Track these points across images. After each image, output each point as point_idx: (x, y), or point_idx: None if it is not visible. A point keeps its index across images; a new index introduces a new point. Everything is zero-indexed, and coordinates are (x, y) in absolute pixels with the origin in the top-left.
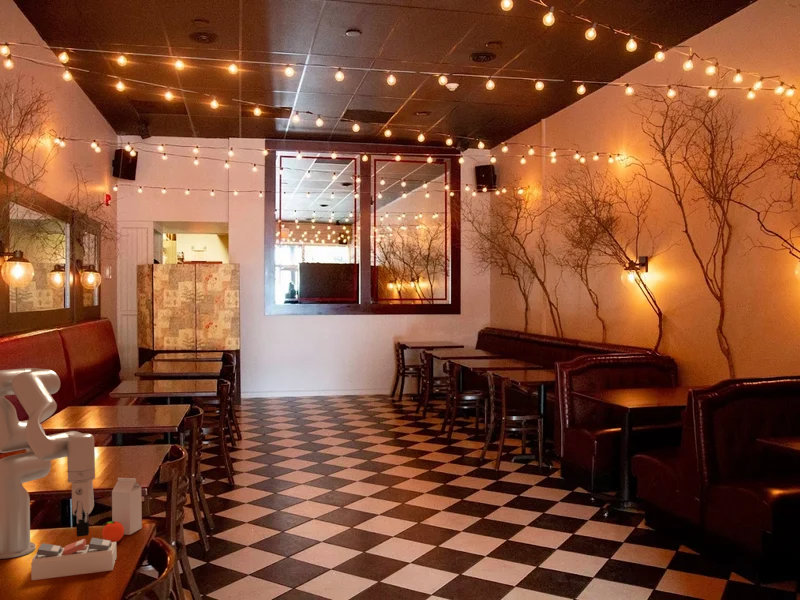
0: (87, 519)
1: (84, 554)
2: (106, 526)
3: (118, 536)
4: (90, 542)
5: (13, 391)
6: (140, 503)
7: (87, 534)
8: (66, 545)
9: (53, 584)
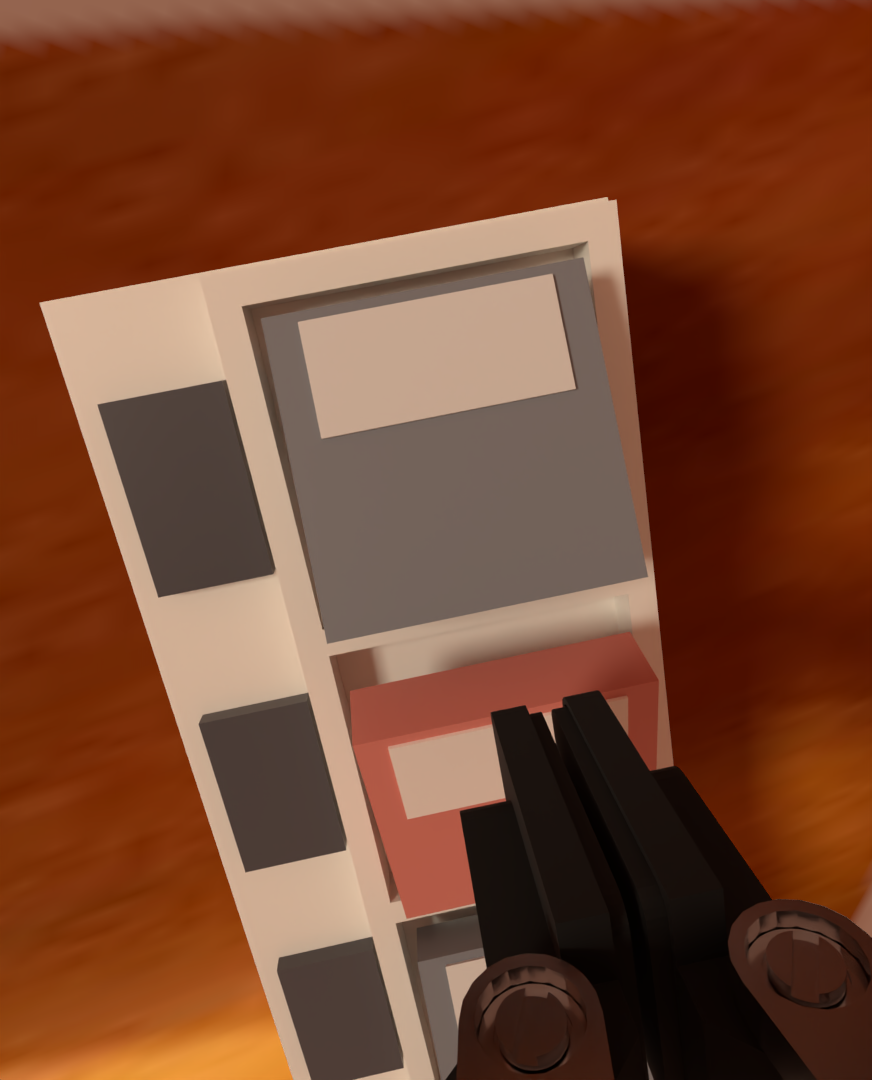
0: (588, 992)
1: (648, 582)
2: None
3: None
4: (588, 582)
5: None
6: None
7: (598, 703)
8: (414, 912)
9: (771, 701)
